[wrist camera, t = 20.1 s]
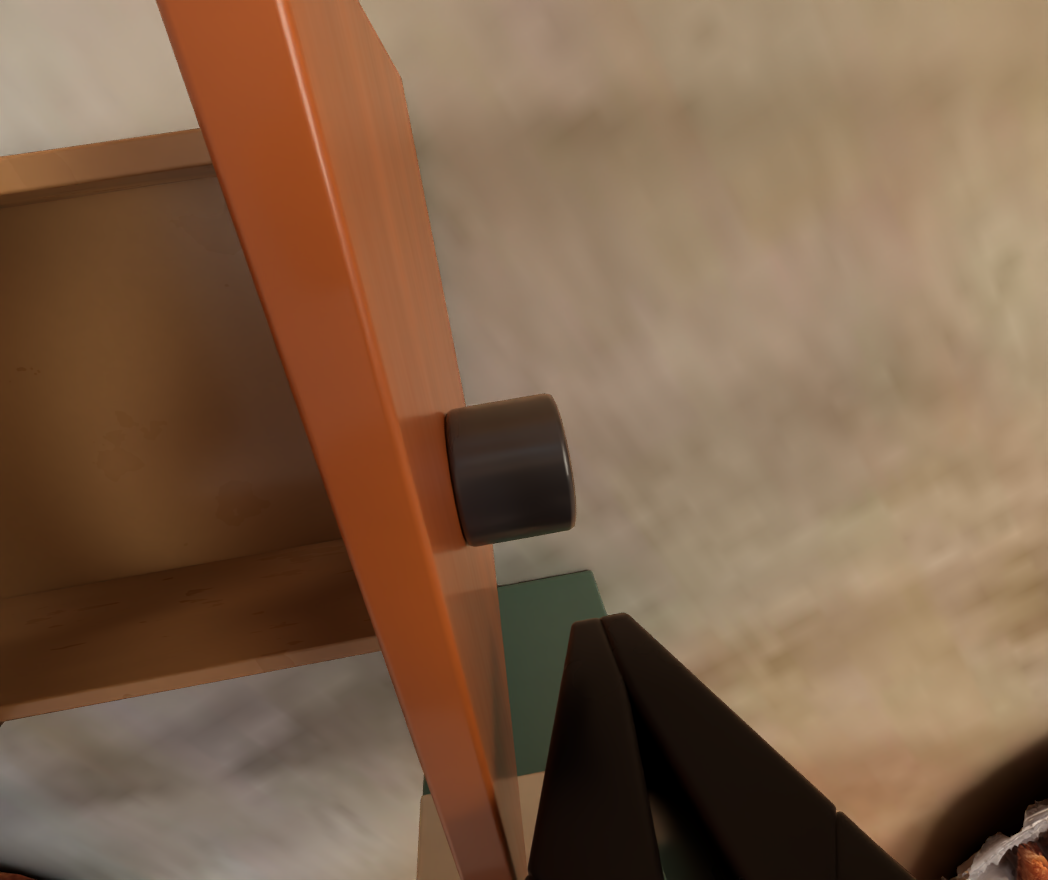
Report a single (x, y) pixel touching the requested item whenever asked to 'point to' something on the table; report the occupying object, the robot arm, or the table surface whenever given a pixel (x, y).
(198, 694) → the table surface
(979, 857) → the food plate
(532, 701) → the long rectangular block
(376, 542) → the drawer
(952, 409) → the table surface
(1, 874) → the bread
